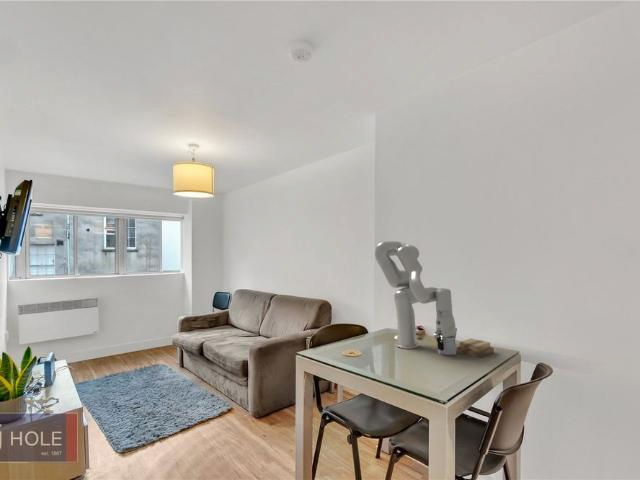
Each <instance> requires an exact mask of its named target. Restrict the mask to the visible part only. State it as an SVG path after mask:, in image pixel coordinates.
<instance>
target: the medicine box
mask: <svg viewBox="0 0 640 480" xmlns="http://www.w3.org/2000/svg"><path fill="white" fill-rule="evenodd" d="M440 339H441V337H440ZM443 343H444V350H439V349H438V345H437V344H436V346H437V353H438V355H439V356H447V355H450V356H451V355H453V356H454V355H456V356H457V345H456V346H455V343H456V338H455V337H454V336H451V337H447V338H444V339H443Z"/></svg>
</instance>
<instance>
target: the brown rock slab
mask: <svg viewBox="0 0 640 480" xmlns="http://www.w3.org/2000/svg"><path fill="white" fill-rule="evenodd" d="M456 353H459V354H463V355H467V356H471V357H475V358H479V359H481V358H483V357H486V356H488V355H492V354H494V353H495V350H494V347H493V346H491V342H489V341H485V340H480V339H477V338H476V339H475V338H469V339H465V340H463V341H460V342H459V346H456Z"/></svg>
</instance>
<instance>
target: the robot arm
mask: <svg viewBox="0 0 640 480" xmlns="http://www.w3.org/2000/svg"><path fill="white" fill-rule="evenodd" d="M374 256H375V260H376V261H377V264H378V265H379V267H380V269H381V270H382V273H383V274H384V275H383V276H384V277H385V278H386V280H387V283H388V284H389V285H390V287H391V288H392V289H397V288H398V290H396V292H395V293H394V295H393V296H394V305H395V308H396V320H397V323H396V324H397V335H395V337H394V338H393V339H394V340H396V342H395V346H396V347H397V348H399V347H400V348H399V349H405V350H409V349H412V350H413V349H417V348H420V343H419V342H418V341H417V336H416V335H417V334H416V333H417V332H416V330H417V329H416V319H415V317H416V316H415V310H414V307H413V305H414V304H417V303H420V304H424V305H425V304H426V305H427V304H430V303H434V302H435V308H436V309H435V310H436V312H435V313H436V322H435V328H436V329H435V332H434V333H433V336H434V338H435V340H436V343H437V344H436V346H437V345H438V347H437V350H438V349H439V350H444V343H443V339H444V338H447V337H451V336H454V337H455V339H456V338H457V337H456V336H457V332H458V328H457V327H456V321H455V318H454V317H455V316H454V315H453V304H452V303H453V302H452V292H451V289H449V288H438V287H432V286H431V287H425V286H424V284H423V282H422V281H421V280H422V279H421V273H422V271H423V266H422V265H421V263H420V262H419V260H418V258H419V256H420V252H419V249H418V248H417V247H416V246H414V245H412V244H408V243H405V242H401V241H394V240H391V241H390V240H386V241H382V242H380V243H378V244H377V246H376V247H375V250H374ZM390 256H391V257H392V256H397V258H398V260H399V262H400V263H401V265H402V267H403V268H404V270H402V269H401V270H400V269H399V267H398V266H397V264H396V262H395V261H394V259H392V258H391V257H390ZM399 288H400V289H399ZM440 337H441V339H440ZM455 346H456V347H457V344H456V342H455Z"/></svg>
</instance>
